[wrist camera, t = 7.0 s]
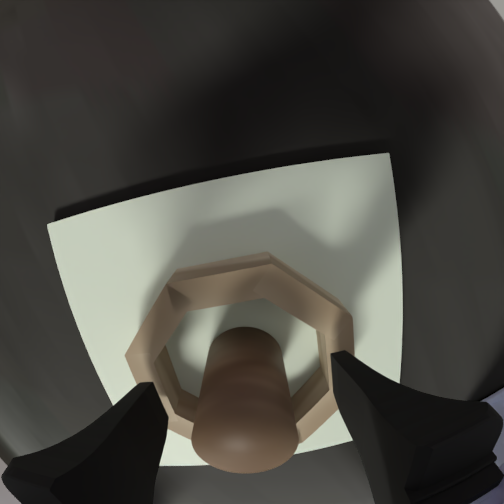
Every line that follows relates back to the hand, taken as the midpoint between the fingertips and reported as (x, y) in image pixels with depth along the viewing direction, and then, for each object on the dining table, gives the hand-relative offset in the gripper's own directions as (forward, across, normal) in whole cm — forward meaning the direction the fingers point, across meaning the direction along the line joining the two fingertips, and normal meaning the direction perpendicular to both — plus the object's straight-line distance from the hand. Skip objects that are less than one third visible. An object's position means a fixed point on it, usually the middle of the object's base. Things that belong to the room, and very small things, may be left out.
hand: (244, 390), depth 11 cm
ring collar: (+3, 0, 0) cm, 3 cm away
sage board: (+3, 0, 0) cm, 3 cm away
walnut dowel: (+3, 0, 0) cm, 3 cm away
